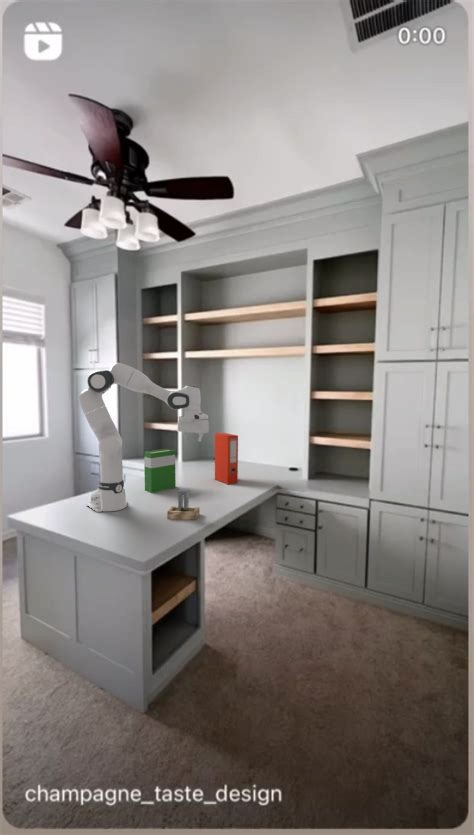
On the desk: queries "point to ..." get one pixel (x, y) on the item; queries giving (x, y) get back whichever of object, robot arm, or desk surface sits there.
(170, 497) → the desk surface
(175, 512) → the wooden tray
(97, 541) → the desk surface
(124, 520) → the desk surface
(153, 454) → the green box
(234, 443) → the file binder
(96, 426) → the robot arm
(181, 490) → the clip
